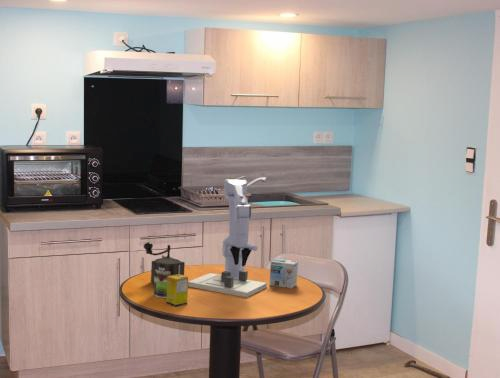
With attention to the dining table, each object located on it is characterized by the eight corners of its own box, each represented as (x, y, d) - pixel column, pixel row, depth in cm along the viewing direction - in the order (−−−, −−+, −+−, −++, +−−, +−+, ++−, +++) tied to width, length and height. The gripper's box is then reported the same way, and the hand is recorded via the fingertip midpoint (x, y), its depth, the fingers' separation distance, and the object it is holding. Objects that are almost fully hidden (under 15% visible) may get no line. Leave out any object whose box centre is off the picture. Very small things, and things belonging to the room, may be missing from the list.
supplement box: (178, 300, 281) (179, 273, 279) (187, 304, 276) (188, 276, 275) (165, 303, 277) (166, 275, 275) (175, 307, 272) (176, 279, 271)
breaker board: (209, 277, 320) (210, 272, 319) (266, 287, 307) (266, 282, 307) (187, 286, 303) (187, 281, 302) (246, 297, 290) (246, 292, 290)
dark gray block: (223, 280, 307) (224, 271, 306) (230, 281, 306) (230, 272, 305) (221, 281, 305) (221, 272, 304) (227, 282, 303) (227, 273, 303)
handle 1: (226, 285, 299) (227, 275, 298) (233, 286, 298) (233, 277, 297) (224, 286, 297) (224, 277, 296) (230, 287, 295) (231, 278, 295)
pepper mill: (166, 278, 315) (168, 237, 312) (184, 283, 308) (186, 242, 305) (140, 283, 303) (141, 242, 300) (158, 289, 296) (159, 246, 294)
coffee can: (172, 300, 281) (173, 264, 280) (148, 296, 285) (149, 261, 283) (183, 293, 291) (184, 259, 289) (160, 290, 294) (161, 256, 293)
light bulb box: (268, 285, 312) (270, 260, 311) (274, 281, 318) (275, 258, 317) (292, 288, 308) (293, 264, 307) (297, 285, 314) (298, 261, 313)
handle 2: (241, 279, 310) (241, 270, 310) (247, 280, 309) (247, 271, 309) (238, 280, 308) (239, 271, 308) (244, 281, 307) (245, 272, 307)
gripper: (221, 232, 299) (220, 264, 301) (253, 237, 293) (251, 269, 295) (229, 230, 305) (228, 261, 307) (260, 234, 299) (258, 266, 301)
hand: (240, 265), depth 301 cm, fingers open, 3 cm apart
